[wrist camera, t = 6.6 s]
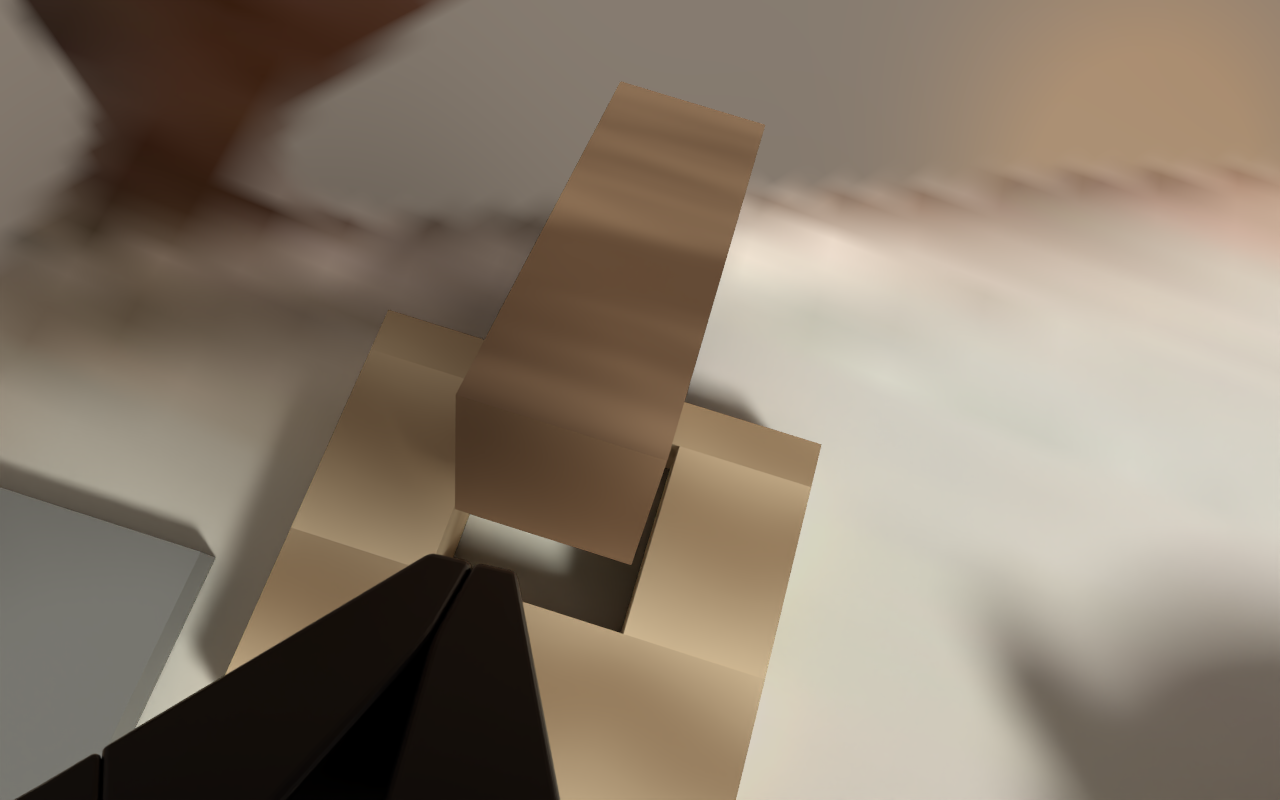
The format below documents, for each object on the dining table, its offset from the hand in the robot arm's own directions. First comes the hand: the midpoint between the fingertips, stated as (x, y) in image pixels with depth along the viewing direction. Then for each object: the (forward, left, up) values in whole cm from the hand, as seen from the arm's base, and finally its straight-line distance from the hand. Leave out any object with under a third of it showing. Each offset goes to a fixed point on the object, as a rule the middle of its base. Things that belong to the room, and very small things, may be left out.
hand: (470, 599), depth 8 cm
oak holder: (+1, 0, -11) cm, 11 cm away
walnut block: (+7, 0, -8) cm, 11 cm away
